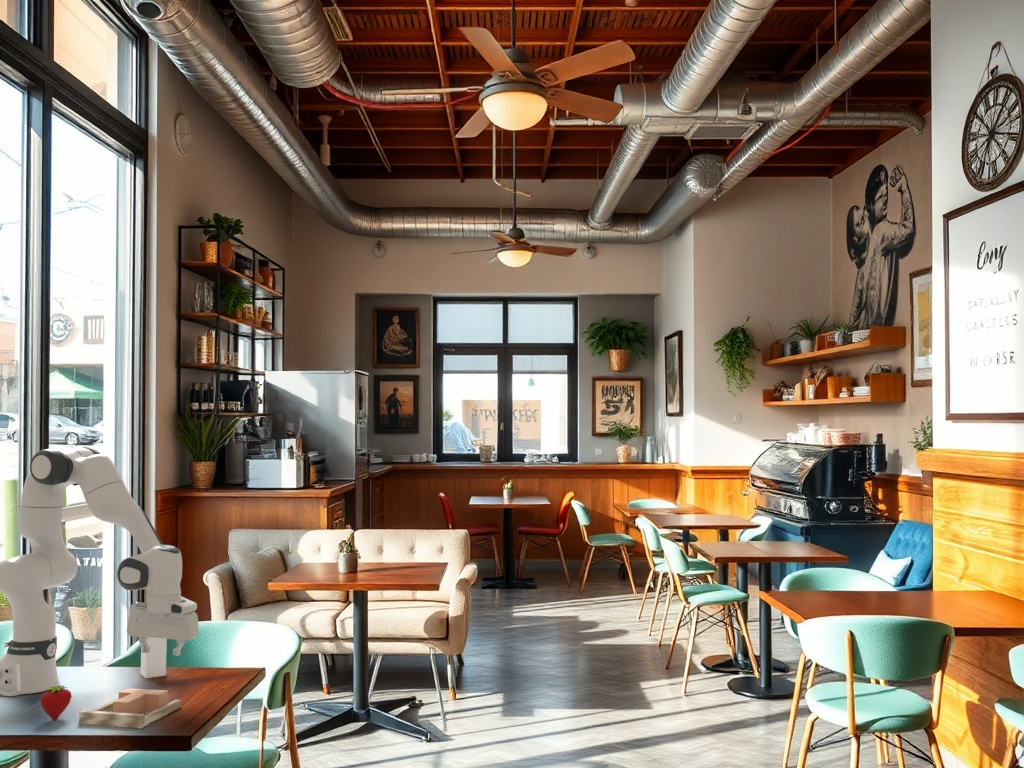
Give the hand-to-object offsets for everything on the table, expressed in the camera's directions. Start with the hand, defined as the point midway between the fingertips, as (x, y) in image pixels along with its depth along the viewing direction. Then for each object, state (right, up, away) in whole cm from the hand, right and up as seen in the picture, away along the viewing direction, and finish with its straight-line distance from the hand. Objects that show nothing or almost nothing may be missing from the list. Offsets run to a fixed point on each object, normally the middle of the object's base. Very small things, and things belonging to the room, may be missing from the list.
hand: (161, 654), depth 249 cm
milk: (-13, -15, +26) cm, 32 cm away
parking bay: (-2, -12, -14) cm, 18 cm away
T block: (-2, -12, -14) cm, 18 cm away
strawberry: (-20, -12, -18) cm, 30 cm away
